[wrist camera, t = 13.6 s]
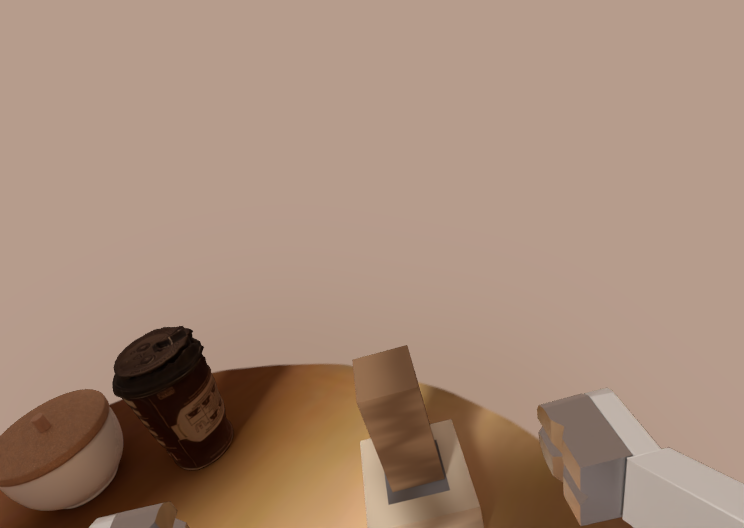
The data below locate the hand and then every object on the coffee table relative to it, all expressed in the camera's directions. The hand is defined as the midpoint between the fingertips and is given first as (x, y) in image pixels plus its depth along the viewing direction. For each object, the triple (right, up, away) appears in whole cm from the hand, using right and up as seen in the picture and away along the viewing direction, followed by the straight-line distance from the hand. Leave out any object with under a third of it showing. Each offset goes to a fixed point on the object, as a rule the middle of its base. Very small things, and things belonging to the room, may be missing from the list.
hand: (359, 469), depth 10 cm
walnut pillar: (+4, -11, +26) cm, 28 cm away
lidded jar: (-29, -18, +37) cm, 50 cm away
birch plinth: (+4, -15, +27) cm, 31 cm away
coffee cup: (-17, -15, +38) cm, 44 cm away
